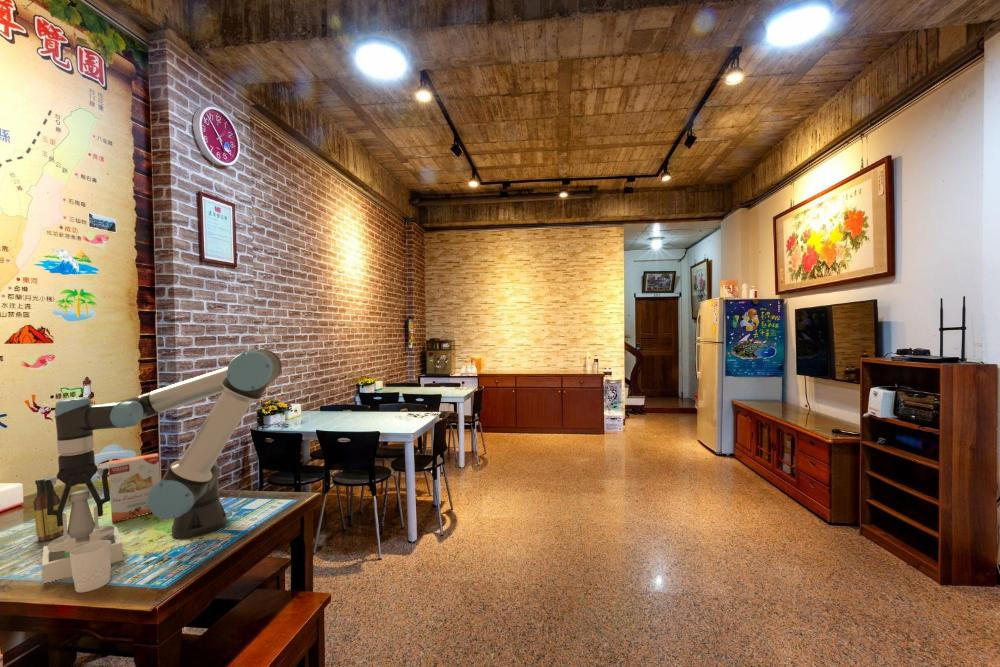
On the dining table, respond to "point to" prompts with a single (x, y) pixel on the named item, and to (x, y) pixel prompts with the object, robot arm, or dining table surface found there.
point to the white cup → (91, 565)
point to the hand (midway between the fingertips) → (81, 531)
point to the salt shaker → (80, 516)
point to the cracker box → (132, 485)
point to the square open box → (59, 562)
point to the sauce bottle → (45, 513)
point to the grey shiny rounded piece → (58, 543)
